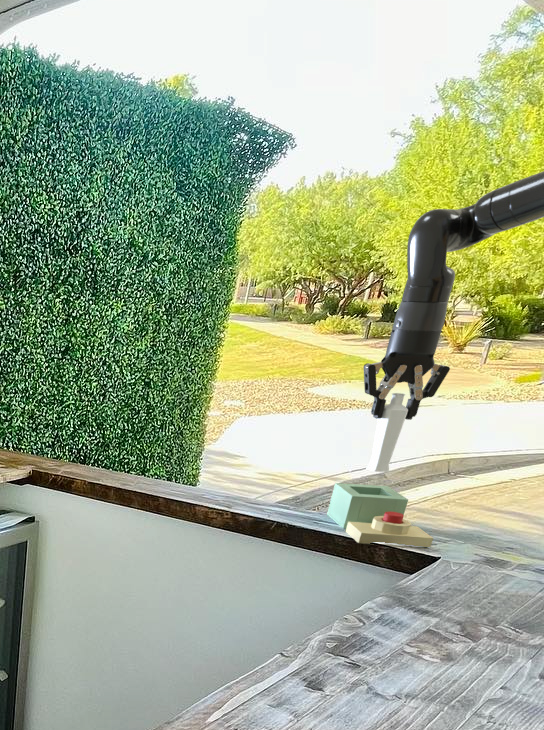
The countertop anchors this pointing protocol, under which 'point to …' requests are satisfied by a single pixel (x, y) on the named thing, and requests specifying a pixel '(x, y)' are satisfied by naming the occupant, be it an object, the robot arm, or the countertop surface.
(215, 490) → the countertop surface
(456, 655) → the countertop surface
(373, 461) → the perfume bottle
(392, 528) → the control box
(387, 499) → the bottle holder
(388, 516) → the release button
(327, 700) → the countertop surface
